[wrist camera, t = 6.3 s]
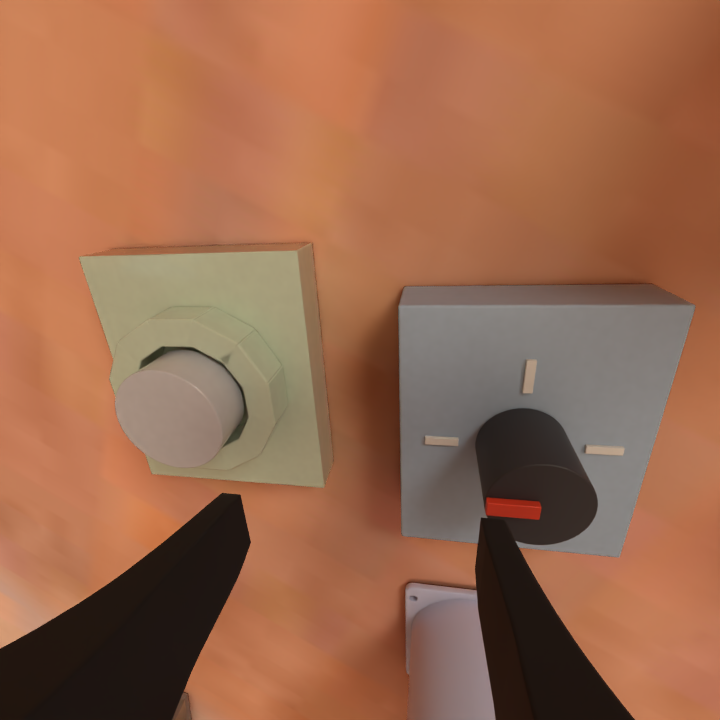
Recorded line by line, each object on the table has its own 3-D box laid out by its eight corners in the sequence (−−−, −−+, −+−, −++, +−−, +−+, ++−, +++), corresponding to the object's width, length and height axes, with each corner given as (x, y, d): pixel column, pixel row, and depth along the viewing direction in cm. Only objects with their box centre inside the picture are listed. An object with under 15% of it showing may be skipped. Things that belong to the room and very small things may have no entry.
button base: (333, 461, 23) (314, 514, 19) (174, 450, 24) (129, 497, 21) (312, 242, 18) (281, 259, 14) (114, 248, 19) (41, 264, 16)
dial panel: (596, 509, 21) (621, 561, 18) (405, 494, 23) (400, 539, 20) (653, 283, 16) (700, 306, 13) (403, 285, 18) (397, 306, 15)
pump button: (252, 442, 18) (231, 472, 16) (162, 436, 19) (133, 464, 17) (234, 350, 16) (208, 372, 15) (135, 348, 17) (99, 368, 15)
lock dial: (573, 409, 16) (612, 475, 12) (559, 481, 17) (590, 558, 14) (477, 405, 16) (489, 467, 13) (472, 475, 18) (481, 547, 14)
